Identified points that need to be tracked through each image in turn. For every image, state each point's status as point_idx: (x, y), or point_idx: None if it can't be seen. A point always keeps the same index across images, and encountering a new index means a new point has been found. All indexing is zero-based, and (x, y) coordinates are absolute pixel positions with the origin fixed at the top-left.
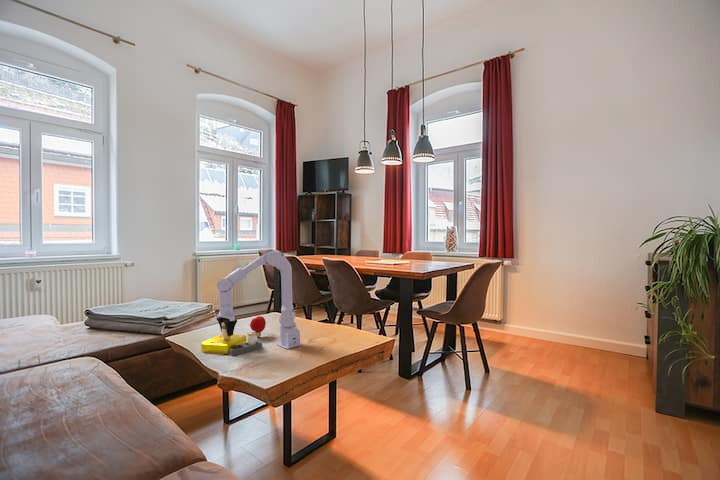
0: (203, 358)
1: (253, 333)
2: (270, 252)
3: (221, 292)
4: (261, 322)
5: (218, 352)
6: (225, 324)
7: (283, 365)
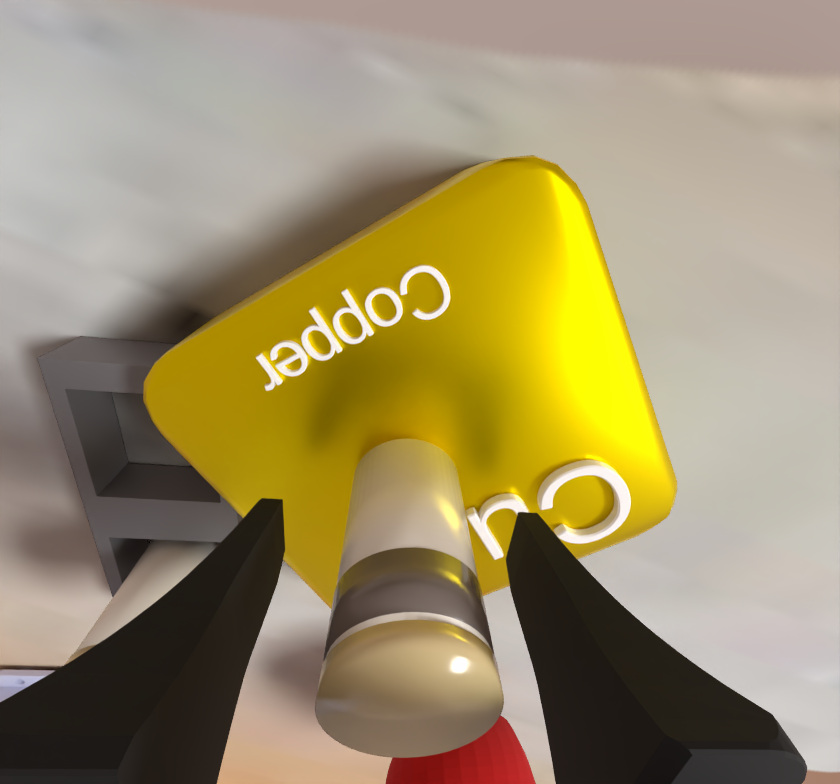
0: (201, 39)
1: None
2: None
3: None
4: None
5: (273, 282)
6: (103, 674)
7: None
